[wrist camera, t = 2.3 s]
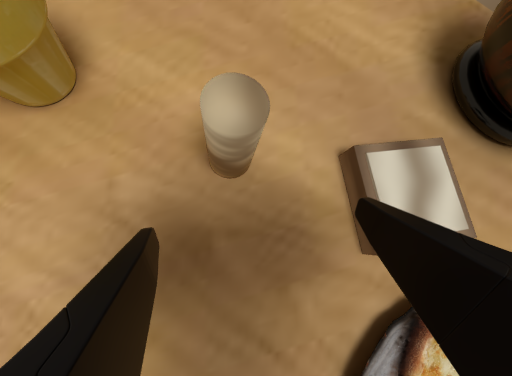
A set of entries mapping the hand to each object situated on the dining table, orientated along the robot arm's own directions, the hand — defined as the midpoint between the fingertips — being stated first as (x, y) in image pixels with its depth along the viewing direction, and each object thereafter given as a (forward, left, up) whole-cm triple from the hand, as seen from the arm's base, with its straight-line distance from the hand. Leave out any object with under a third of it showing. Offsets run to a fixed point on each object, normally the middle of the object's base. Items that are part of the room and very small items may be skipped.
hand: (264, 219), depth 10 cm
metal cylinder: (0, +8, -13) cm, 15 cm away
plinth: (+18, +1, -13) cm, 22 cm away
